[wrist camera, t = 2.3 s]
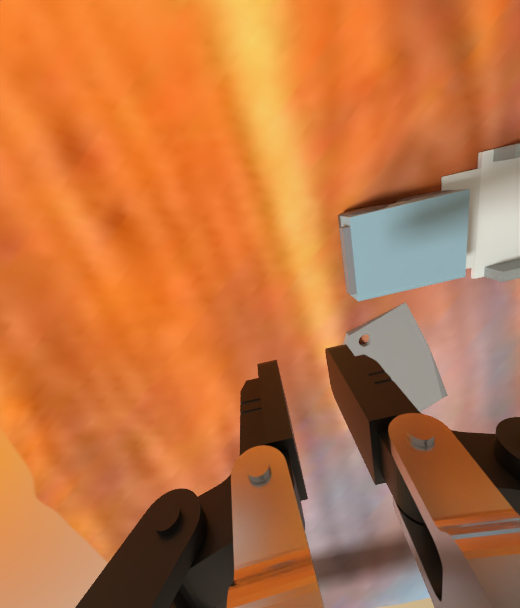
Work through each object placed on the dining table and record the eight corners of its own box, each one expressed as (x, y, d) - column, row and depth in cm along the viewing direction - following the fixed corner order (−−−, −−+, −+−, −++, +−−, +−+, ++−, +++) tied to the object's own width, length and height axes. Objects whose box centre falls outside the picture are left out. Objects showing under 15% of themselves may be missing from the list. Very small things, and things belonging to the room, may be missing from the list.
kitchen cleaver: (471, 448, 36) (401, 479, 36) (464, 442, 37) (396, 473, 37) (428, 291, 28) (339, 334, 28) (421, 288, 29) (335, 330, 29)
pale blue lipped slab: (325, 216, 25) (342, 219, 21) (431, 191, 25) (469, 188, 20) (335, 287, 27) (351, 303, 23) (431, 265, 27) (465, 276, 23)
